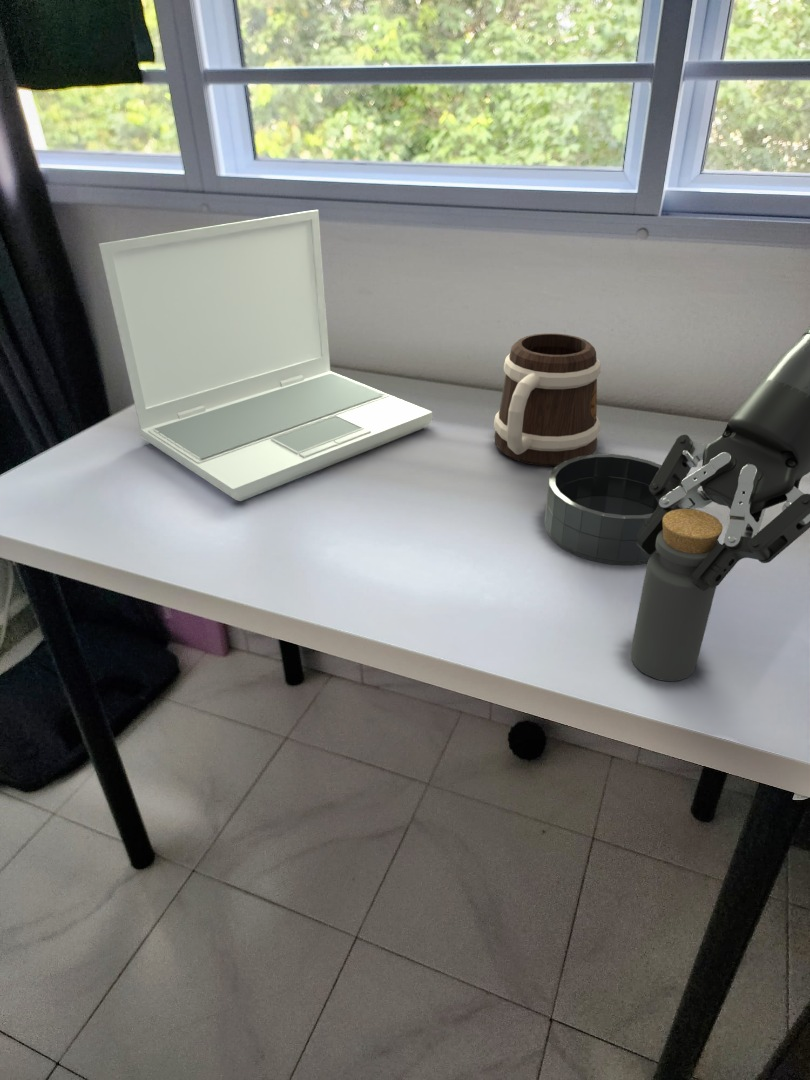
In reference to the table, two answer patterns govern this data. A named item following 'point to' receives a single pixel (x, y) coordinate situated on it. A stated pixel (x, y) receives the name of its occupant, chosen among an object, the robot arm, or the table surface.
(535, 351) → the mug
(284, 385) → the laptop
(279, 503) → the table surface
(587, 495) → the pot
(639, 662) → the bottle
